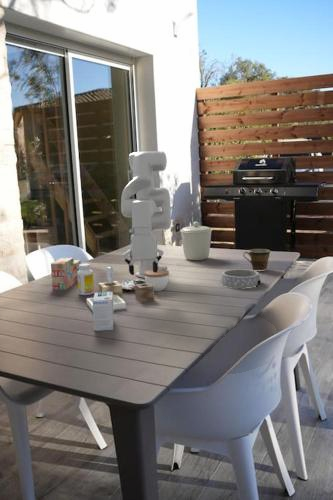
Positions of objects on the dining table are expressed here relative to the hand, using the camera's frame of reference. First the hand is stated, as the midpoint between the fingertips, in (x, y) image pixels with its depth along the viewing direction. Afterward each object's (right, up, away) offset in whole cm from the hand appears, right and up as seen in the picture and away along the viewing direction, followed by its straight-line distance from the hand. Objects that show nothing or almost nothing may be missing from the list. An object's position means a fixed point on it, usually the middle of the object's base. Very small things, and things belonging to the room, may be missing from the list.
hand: (143, 273), depth 205 cm
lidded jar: (+5, -8, +18) cm, 20 cm away
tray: (-15, -13, -6) cm, 20 cm away
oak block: (-14, -11, +7) cm, 19 cm away
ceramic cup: (+54, -1, +48) cm, 72 cm away
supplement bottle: (-25, -10, +14) cm, 31 cm away
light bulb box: (-12, -17, -28) cm, 35 cm away
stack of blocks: (-37, -7, +33) cm, 50 cm away
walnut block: (0, -11, +3) cm, 11 cm away
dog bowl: (+43, -6, +23) cm, 49 cm away
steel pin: (-14, -10, +7) cm, 18 cm away
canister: (+26, +4, +80) cm, 85 cm away
